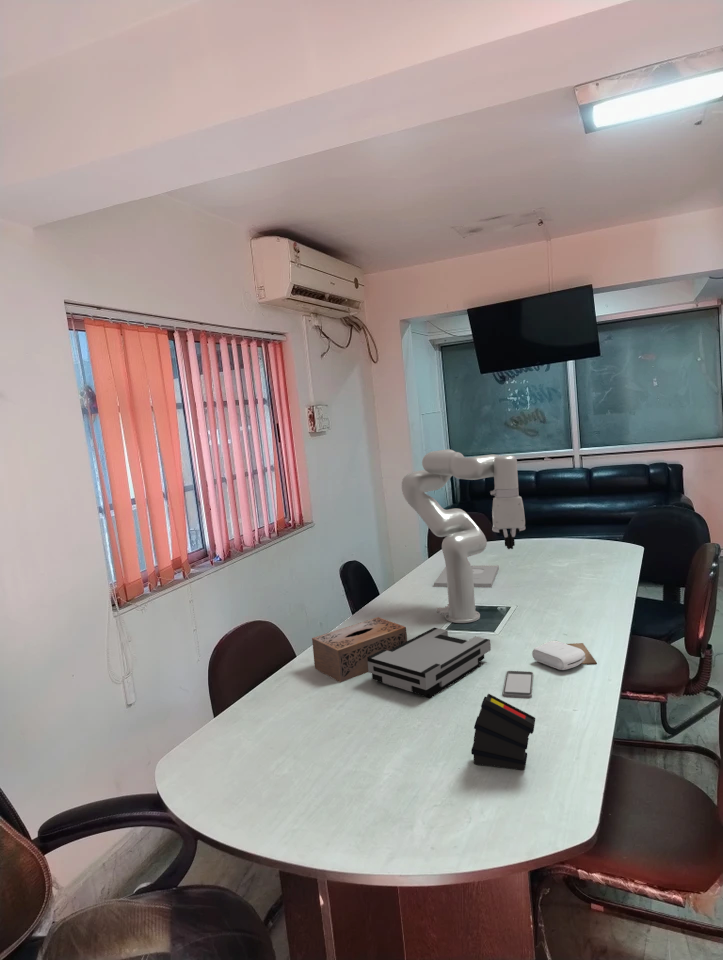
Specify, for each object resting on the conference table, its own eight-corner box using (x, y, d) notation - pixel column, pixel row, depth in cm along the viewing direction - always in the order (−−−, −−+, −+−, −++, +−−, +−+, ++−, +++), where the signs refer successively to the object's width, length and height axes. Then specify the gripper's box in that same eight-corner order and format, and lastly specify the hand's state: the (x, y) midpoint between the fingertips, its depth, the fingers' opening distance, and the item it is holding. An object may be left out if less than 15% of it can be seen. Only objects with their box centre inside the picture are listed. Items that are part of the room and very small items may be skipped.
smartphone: (533, 671, 176) (531, 695, 162) (533, 675, 176) (531, 699, 162) (506, 670, 178) (502, 694, 164) (507, 674, 178) (502, 698, 164)
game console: (491, 661, 187) (489, 635, 186) (427, 703, 164) (425, 673, 163) (435, 648, 202) (434, 623, 201) (369, 684, 179) (367, 657, 178)
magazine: (461, 747, 138) (486, 691, 134) (517, 778, 135) (545, 721, 131) (457, 756, 135) (484, 699, 131) (515, 788, 131) (544, 730, 127)
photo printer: (555, 638, 188) (589, 649, 178) (555, 651, 189) (589, 663, 178) (531, 647, 183) (564, 659, 172) (531, 661, 184) (565, 674, 173)
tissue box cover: (380, 645, 207) (378, 617, 206) (408, 657, 195) (406, 627, 194) (314, 669, 192) (312, 638, 191) (340, 683, 181) (337, 650, 180)
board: (554, 665, 180) (554, 664, 180) (543, 646, 195) (543, 644, 195) (596, 664, 179) (596, 662, 179) (582, 644, 194) (582, 643, 194)
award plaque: (434, 587, 270) (433, 582, 269) (446, 569, 298) (446, 565, 298) (491, 588, 262) (491, 583, 262) (498, 570, 290) (498, 565, 290)
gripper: (484, 496, 200) (488, 552, 202) (532, 493, 199) (535, 549, 200) (482, 493, 207) (485, 547, 209) (528, 490, 206) (530, 544, 208)
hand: (509, 548), depth 205 cm, fingers closed
